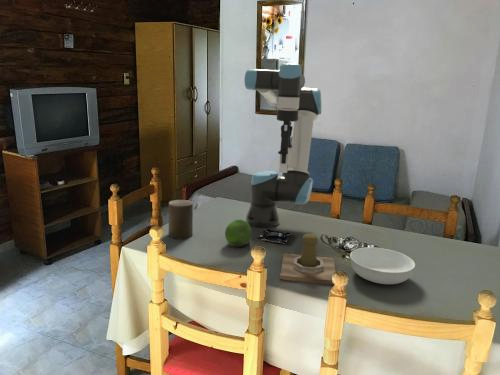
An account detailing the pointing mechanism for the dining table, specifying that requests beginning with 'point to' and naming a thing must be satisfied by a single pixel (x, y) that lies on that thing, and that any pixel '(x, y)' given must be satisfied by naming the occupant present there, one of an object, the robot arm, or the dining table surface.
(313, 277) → the socket board
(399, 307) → the dining table surface
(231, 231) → the fruit
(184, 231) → the pillar candle
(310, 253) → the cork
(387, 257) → the serving bowl
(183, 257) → the dining table surface
